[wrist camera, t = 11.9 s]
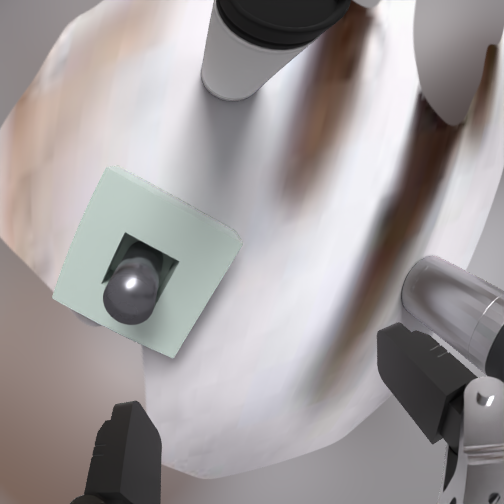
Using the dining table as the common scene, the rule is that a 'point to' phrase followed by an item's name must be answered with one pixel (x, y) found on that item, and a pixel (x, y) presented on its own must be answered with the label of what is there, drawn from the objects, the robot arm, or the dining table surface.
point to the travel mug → (260, 40)
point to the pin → (134, 285)
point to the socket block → (159, 237)
